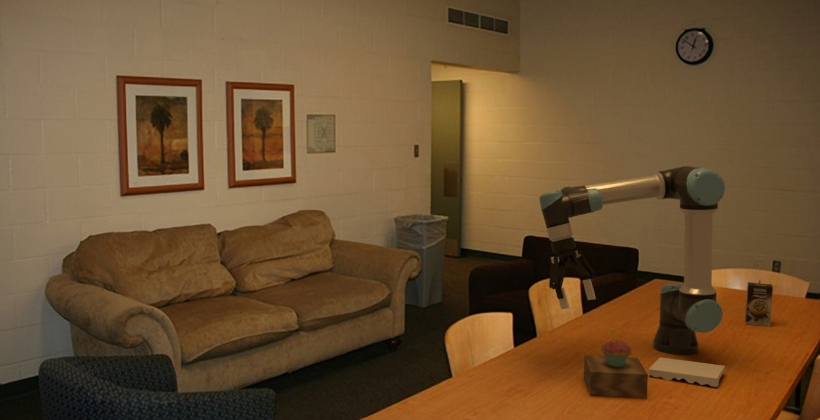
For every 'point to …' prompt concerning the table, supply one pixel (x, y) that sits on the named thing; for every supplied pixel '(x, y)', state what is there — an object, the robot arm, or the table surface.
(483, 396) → the table surface
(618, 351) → the cupcake
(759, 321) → the cookie box
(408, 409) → the table surface
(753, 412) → the table surface
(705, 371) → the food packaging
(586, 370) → the riser
